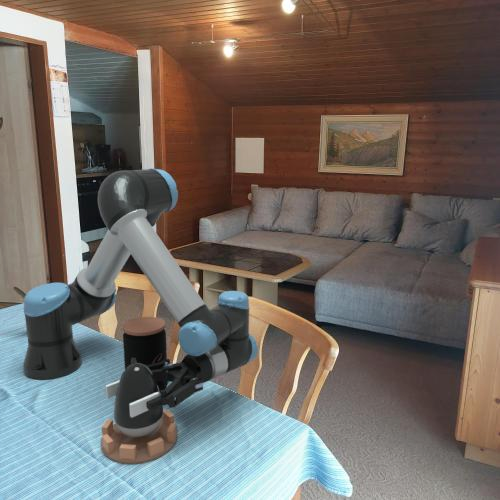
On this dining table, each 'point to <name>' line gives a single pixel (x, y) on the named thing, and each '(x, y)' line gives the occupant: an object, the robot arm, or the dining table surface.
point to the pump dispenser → (130, 390)
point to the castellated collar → (139, 442)
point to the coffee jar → (145, 342)
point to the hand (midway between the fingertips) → (118, 401)
